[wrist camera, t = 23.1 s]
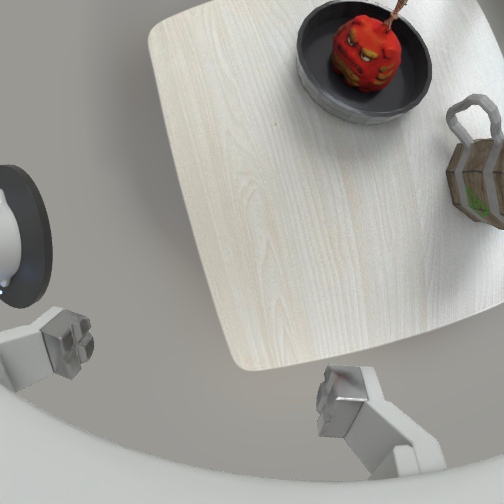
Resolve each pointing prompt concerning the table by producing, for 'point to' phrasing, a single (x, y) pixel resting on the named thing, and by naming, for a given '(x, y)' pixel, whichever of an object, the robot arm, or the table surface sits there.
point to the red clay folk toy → (367, 52)
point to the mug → (478, 166)
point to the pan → (332, 84)
